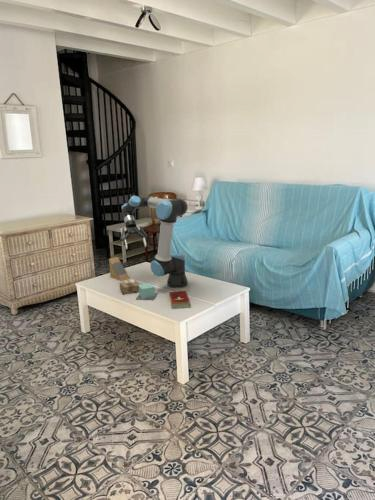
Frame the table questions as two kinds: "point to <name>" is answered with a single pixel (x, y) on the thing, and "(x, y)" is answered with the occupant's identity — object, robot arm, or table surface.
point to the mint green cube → (146, 291)
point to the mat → (146, 298)
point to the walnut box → (129, 287)
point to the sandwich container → (117, 270)
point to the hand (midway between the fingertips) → (136, 247)
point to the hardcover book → (179, 299)
